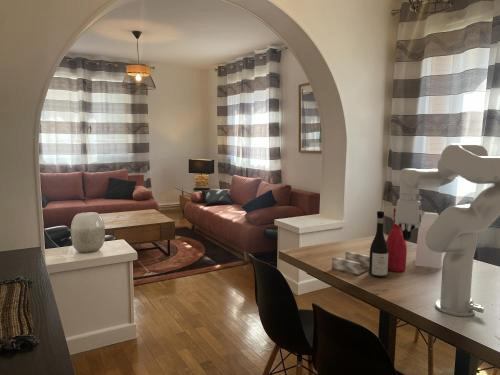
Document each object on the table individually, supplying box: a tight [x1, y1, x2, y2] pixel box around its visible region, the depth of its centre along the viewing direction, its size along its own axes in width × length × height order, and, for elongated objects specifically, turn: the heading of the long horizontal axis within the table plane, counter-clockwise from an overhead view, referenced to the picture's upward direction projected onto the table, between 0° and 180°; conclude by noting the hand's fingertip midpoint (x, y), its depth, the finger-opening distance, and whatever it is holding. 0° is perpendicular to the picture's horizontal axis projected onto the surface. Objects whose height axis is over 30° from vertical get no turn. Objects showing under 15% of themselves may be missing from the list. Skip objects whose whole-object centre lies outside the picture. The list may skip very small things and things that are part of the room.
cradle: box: [331, 250, 370, 277], centre depth 181 cm, size 14×14×6 cm
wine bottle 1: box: [368, 210, 389, 279], centre depth 171 cm, size 8×8×30 cm
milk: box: [414, 212, 443, 270], centre depth 188 cm, size 12×12×26 cm
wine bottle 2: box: [385, 207, 408, 273], centre depth 180 cm, size 10×10×30 cm
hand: (406, 239), depth 162 cm, fingers closed
